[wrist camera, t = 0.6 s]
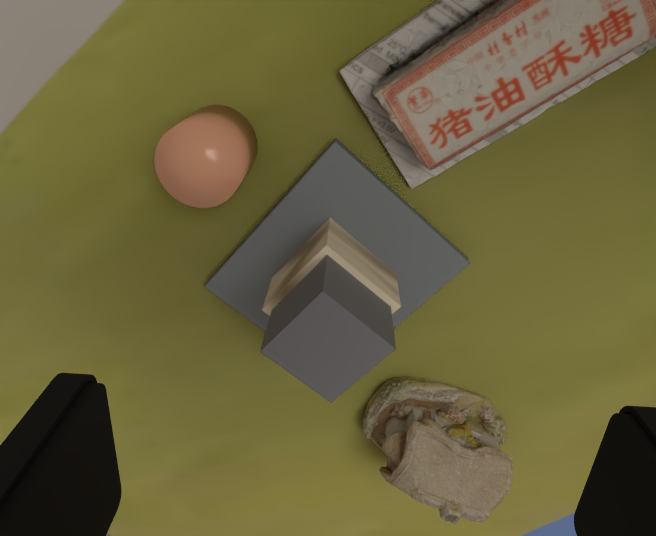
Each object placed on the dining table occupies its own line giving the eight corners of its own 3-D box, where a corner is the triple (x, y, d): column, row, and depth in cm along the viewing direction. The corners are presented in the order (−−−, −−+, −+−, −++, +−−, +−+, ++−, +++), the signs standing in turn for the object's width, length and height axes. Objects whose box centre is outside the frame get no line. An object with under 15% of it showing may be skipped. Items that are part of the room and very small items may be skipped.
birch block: (330, 217, 39) (326, 244, 35) (396, 273, 41) (401, 306, 37) (272, 277, 42) (261, 310, 37) (336, 327, 44) (334, 364, 39)
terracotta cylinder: (211, 88, 36) (186, 103, 31) (272, 141, 38) (258, 164, 32) (168, 146, 38) (137, 169, 33) (227, 194, 40) (207, 224, 35)
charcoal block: (327, 254, 35) (322, 291, 31) (390, 306, 37) (395, 348, 32) (271, 309, 37) (260, 351, 33) (334, 356, 39) (331, 402, 34)
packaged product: (633, -129, 26) (693, 50, 30) (594, -111, 31) (650, 43, 34) (334, 77, 31) (415, 208, 35) (337, 68, 36) (409, 185, 39)
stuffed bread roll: (530, 414, 48) (569, 507, 40) (462, 487, 53) (483, 585, 44) (398, 355, 46) (408, 439, 37) (340, 436, 51) (336, 529, 42)
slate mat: (335, 138, 37) (335, 141, 37) (467, 257, 41) (469, 263, 40) (207, 281, 43) (204, 286, 42) (332, 374, 47) (332, 381, 46)
